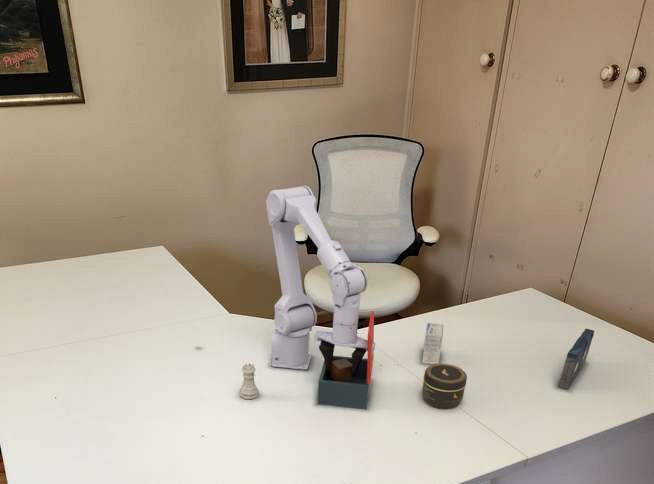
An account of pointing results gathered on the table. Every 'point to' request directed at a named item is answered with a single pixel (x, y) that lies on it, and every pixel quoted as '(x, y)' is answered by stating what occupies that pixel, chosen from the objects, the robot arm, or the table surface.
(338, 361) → the block
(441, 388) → the jar
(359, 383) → the dark grey open box
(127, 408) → the table surface
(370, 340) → the lid
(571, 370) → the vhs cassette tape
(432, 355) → the medicine box
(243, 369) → the rook chess piece
